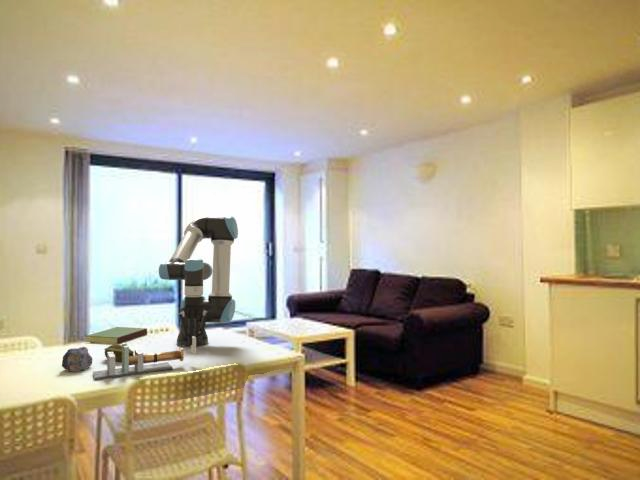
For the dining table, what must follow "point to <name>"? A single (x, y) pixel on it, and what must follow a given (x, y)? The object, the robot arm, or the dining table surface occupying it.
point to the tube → (158, 357)
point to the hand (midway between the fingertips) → (193, 352)
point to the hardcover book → (116, 335)
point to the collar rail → (127, 370)
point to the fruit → (117, 352)
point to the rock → (77, 360)
